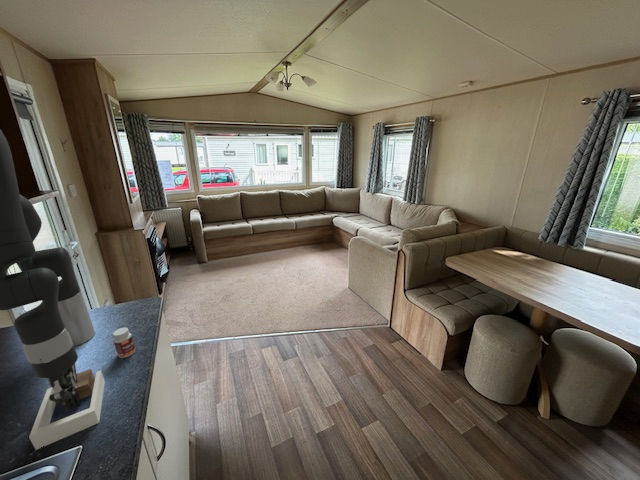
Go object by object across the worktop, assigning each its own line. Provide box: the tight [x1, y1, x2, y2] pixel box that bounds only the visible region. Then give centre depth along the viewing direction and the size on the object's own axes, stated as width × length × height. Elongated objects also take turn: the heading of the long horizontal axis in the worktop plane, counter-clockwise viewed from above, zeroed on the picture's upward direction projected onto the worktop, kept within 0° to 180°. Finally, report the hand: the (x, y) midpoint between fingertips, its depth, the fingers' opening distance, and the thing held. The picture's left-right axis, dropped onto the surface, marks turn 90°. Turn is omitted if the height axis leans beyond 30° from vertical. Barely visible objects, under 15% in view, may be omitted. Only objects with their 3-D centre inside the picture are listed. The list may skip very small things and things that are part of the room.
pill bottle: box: [112, 327, 136, 359], centre depth 84 cm, size 5×5×8 cm
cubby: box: [29, 369, 106, 451], centre depth 66 cm, size 14×11×4 cm
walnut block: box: [60, 368, 95, 407], centre depth 71 cm, size 6×6×4 cm
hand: (74, 405), depth 67 cm, fingers closed
